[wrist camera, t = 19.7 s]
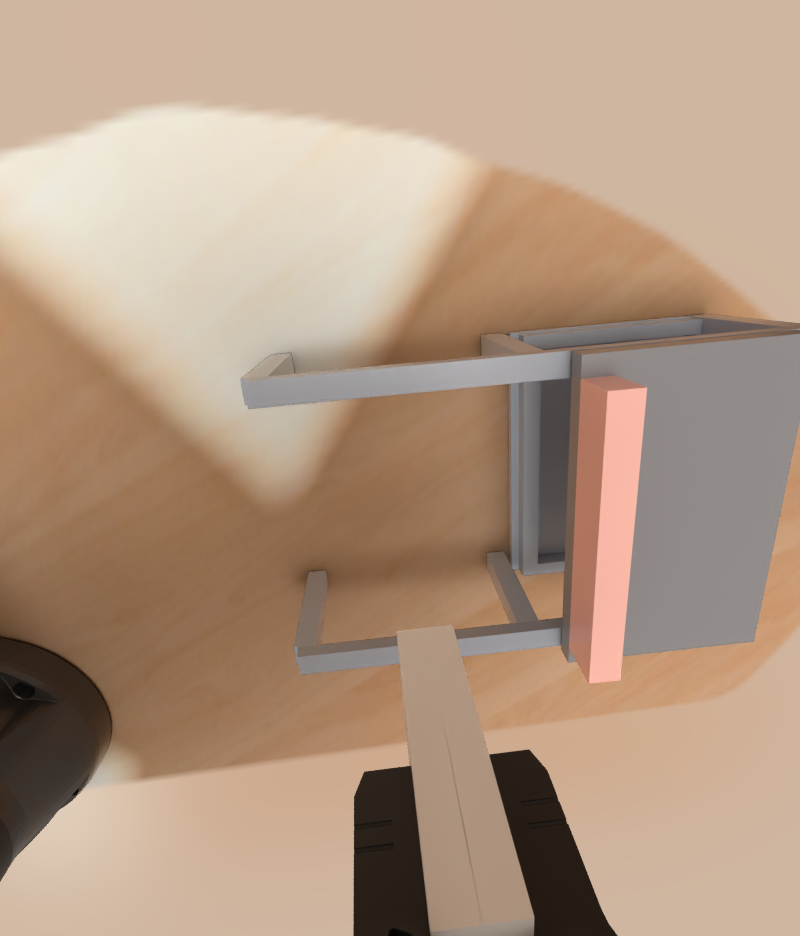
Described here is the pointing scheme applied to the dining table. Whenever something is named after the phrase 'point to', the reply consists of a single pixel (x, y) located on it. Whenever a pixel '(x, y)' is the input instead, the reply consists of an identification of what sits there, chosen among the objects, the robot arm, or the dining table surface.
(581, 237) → the dining table surface
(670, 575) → the lid
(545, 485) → the grey frame rack
